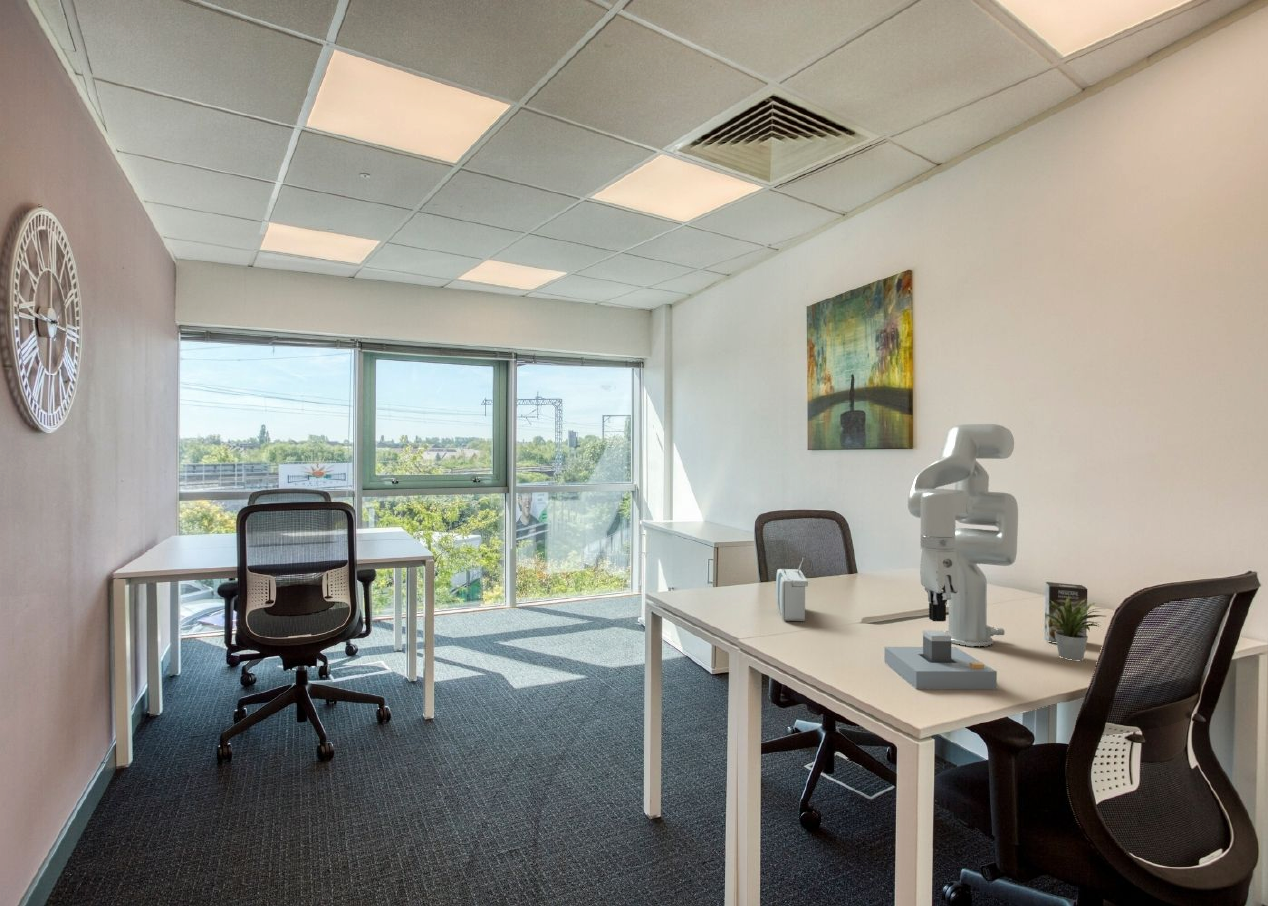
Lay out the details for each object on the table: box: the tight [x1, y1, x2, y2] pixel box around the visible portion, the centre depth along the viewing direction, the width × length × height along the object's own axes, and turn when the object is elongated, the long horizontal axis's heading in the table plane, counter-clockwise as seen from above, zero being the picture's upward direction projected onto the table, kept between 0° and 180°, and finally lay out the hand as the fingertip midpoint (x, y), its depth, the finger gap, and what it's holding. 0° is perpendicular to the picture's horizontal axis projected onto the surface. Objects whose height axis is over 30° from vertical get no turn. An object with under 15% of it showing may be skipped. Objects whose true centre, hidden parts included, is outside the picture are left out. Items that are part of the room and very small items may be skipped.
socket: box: [883, 646, 998, 690], centre depth 151 cm, size 18×18×5 cm
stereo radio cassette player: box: [775, 557, 809, 622], centre depth 208 cm, size 21×8×20 cm, turn 172°
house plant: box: [1046, 594, 1106, 660], centre depth 163 cm, size 14×14×16 cm
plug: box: [922, 630, 952, 663], centre depth 151 cm, size 5×5×10 cm
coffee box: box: [1044, 581, 1088, 642], centre depth 178 cm, size 9×6×16 cm
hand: (937, 620), depth 151 cm, fingers closed
